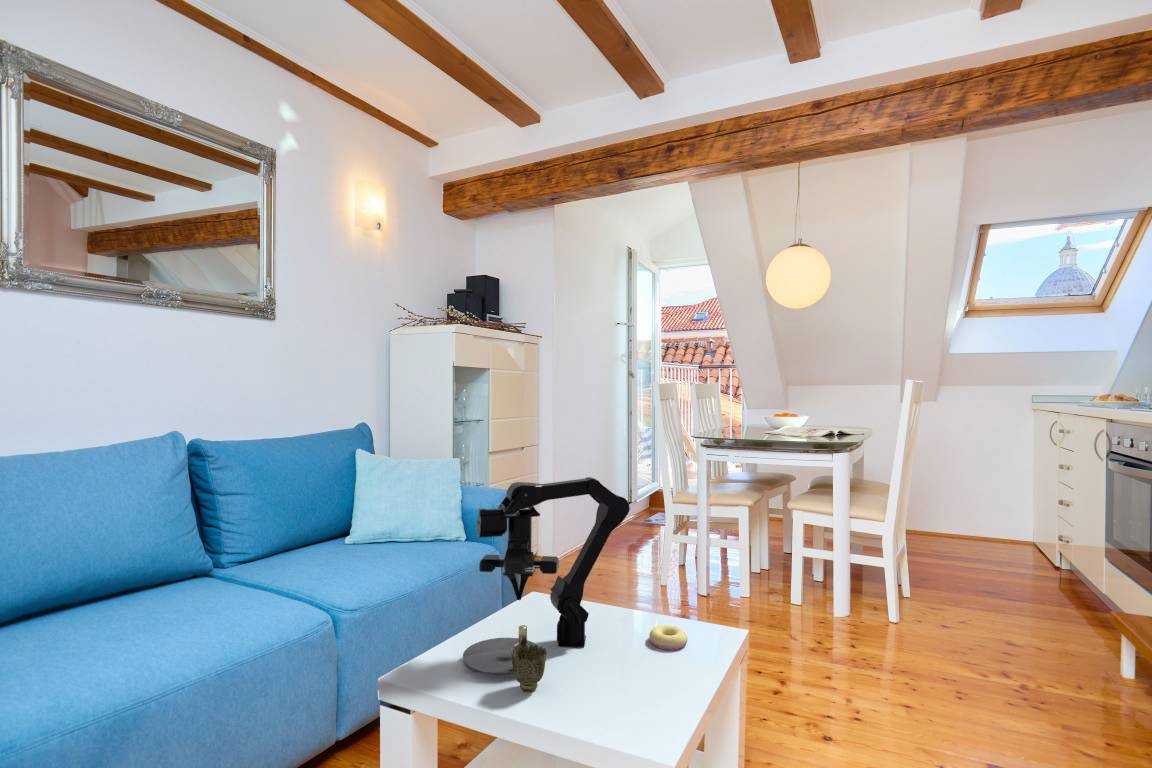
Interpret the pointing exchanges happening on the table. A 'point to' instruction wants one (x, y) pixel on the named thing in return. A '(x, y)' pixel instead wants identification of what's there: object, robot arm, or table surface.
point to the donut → (668, 637)
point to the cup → (528, 666)
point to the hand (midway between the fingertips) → (519, 599)
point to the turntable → (494, 654)
